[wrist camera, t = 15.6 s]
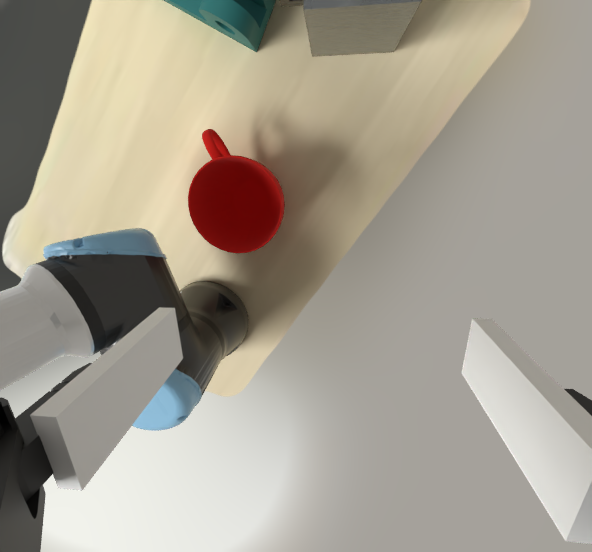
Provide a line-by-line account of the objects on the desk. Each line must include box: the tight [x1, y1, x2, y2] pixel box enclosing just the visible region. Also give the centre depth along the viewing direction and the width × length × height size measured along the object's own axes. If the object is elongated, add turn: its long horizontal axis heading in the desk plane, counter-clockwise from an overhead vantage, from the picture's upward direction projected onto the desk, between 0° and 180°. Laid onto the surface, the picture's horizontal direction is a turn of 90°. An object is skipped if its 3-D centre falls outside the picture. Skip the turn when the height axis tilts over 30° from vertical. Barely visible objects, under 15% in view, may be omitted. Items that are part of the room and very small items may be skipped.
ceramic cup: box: [188, 129, 285, 253], centre depth 45 cm, size 13×17×10 cm
